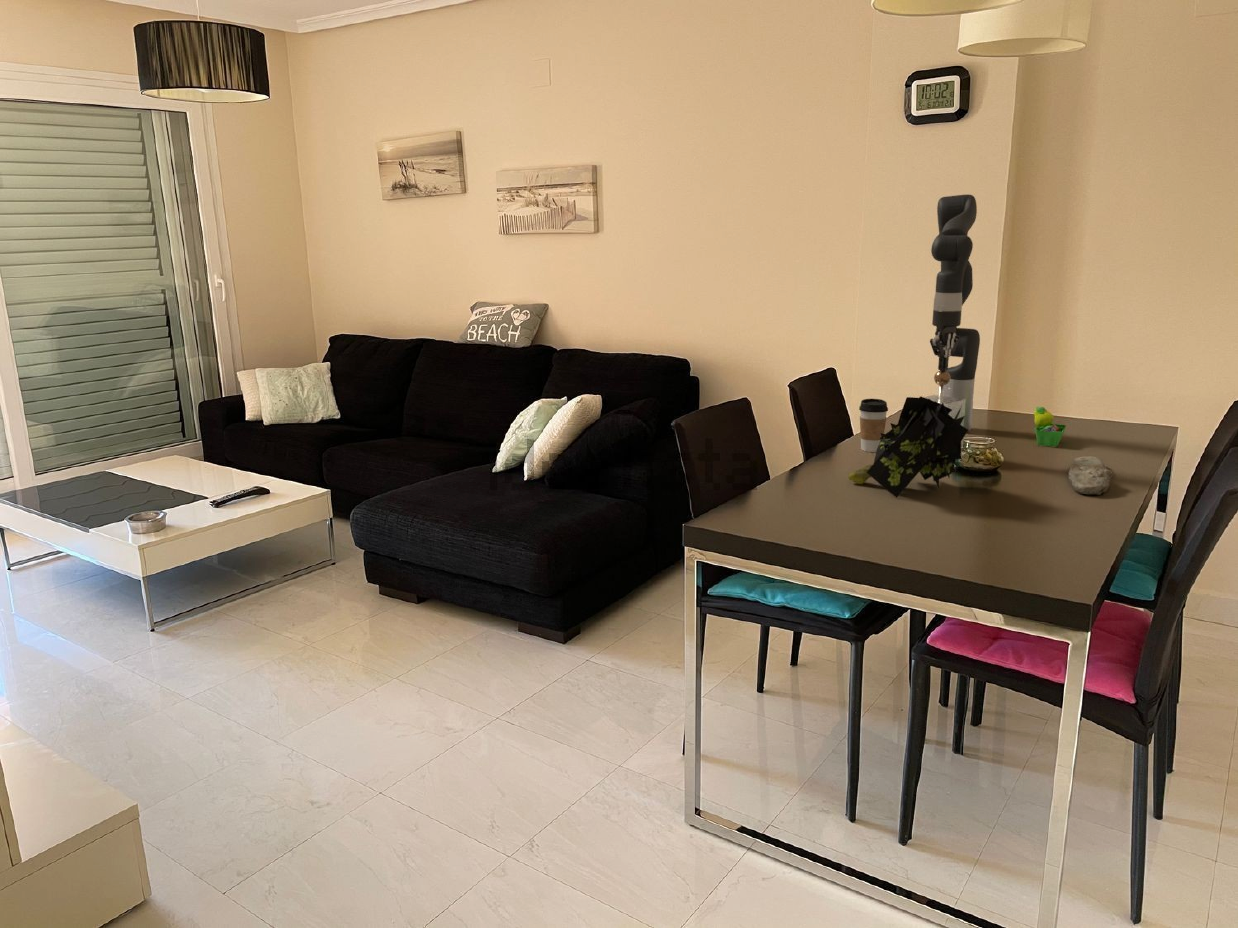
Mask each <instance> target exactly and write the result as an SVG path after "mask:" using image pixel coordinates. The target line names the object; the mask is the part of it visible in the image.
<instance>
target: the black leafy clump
mask: <svg viewBox="0 0 1238 928" xmlns="http://www.w3.org/2000/svg"><path fill="white" fill-rule="evenodd" d="M924 397H925V396H922V395H921V396H918V397H911V396H909V397H907V396H906V398H905V401H904V404H903V407H902V409H901V412H900V414H899V419H898V422H897V424H895V423H892V422H890V427H891V429H890V430H889V431H887V432H886V433H884V434H883V433H881V436H882V437H881V438H880V443H879V445H878V448H877V451H876V452H875V454H874V460H873V463H872V464H866V465H864V466H861V467H860V468H858V469H857V470H854V471H853V472H851V473H850V474H849V475H848V476H847V477H848V478H847V479H848V480H849V481H852V482H853V483H855V484H858V485H860V484H861V485H863V484H865V483H866V482H867V480H868V479H870V478H872V479H873V480H874V481H876V483H878V484H879V485H880V486H881V487H882V488H884V489H886V491H887V492H889V493H890V494H891V495H892V496H894V497H895V498H896V499H897V498H898V497H899V496H900V495H901V494H902V492H904V490H905V489H906V488H907V486H909V485H910V483H911V482H912V481H913V480H914V479H915V477H916V476H918V474H919V473H920V474H921V477H922V478H923V480H924V481H926V480H928V479H930V478H932V479H933V482H935V483H936V486H937V487H938V489H940V480H941V479H943V478H945V477H947V478H948V479H950V477H951V475H952V473H955V472H956V469H955V464H956V462H957V461H956V460H963V457H962V451H961V441H962V442H963V439H964V438H965V436H966V435H967V433H969V432H968V429H966V428H965V427H963V426H962V425H961V423H962V421H963V419H964V417H965V416H963V417H961V418H958V419H957V417H958V415H959V413H960V410H961V408H960V409H959V411H958V413H957V415H956V416H955V418H954V419H953V418H952V417H951V416H950V415H948V414H949V413H950V412H951V411H952V409H950V408H948V407H946V406H944V404H943V403H942V404H939V403H937V402H936V401H935V402H934V401H932V400H930V399H927V398H924ZM961 407H962V406H961Z"/></svg>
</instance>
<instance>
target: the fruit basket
mask: <svg viewBox="0 0 1238 928" xmlns="http://www.w3.org/2000/svg"><path fill="white" fill-rule="evenodd" d="M1033 413H1034V414H1033V416H1034V420H1033V421H1034V424H1035V426H1036V427H1035V428H1034V433H1035V436H1036V442H1037V446H1039V445H1043V447H1049V446H1054V447H1053V448H1057V447H1058V445H1059V443H1060V442H1061V440H1062V437H1063V434H1064V432H1065V430H1066V427H1067V425H1065V424H1059V423H1054V422H1053V420H1054V419H1055V416H1054V415H1053V413H1051V412H1050V411H1048V410H1047V409H1046V408H1045V407H1044V406H1037V407H1036V408H1035V410H1034V412H1033ZM1056 446H1057V447H1056Z"/></svg>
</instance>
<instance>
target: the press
mask: <svg viewBox="0 0 1238 928" xmlns="http://www.w3.org/2000/svg"><path fill="white" fill-rule="evenodd" d="M923 397H924V398H927V399H930V400H932V401H934V402H935V401H936V402H937V403H939V404H942V403H943V404H944V406H946V407H948V408H950V409H952V411H951V412H950V413H949V414H948V415H950V416H951V417H952V418H953V419H954V418H955V416H956V415H957V413H958V411H959V409H960V408H961V410H960V413H959V415H958V417H957V419H958V418H961V417H963V416H964V414H965V402H966V399H961V398H953V397H946V396H943V400H938V398H939V394H937V395H936V394H933V395H932V394H931V395H928V396H923ZM961 406H962V407H961ZM961 425H962V426H964V419H963V421H962V423H961ZM961 448H962V449H963V440H962V441H961Z"/></svg>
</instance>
